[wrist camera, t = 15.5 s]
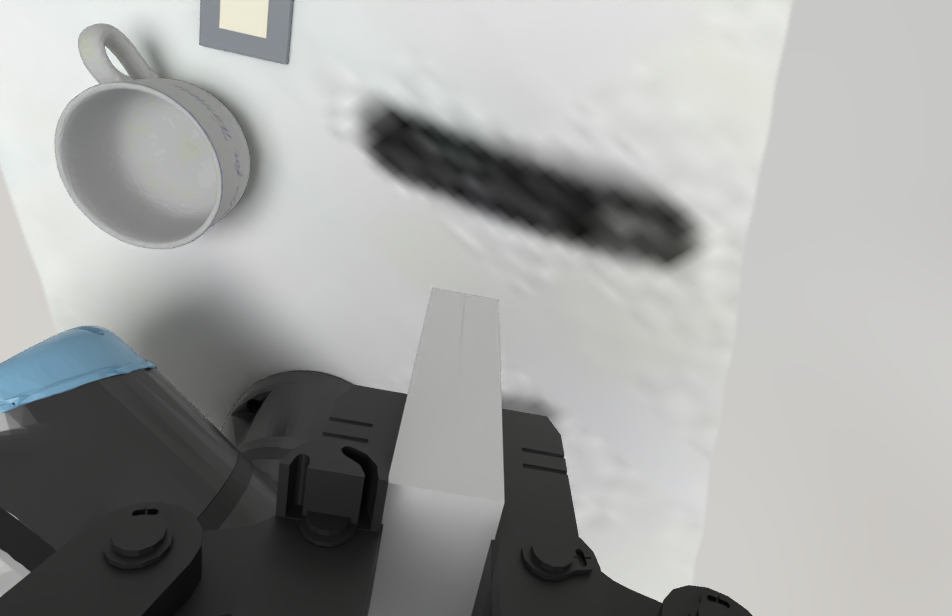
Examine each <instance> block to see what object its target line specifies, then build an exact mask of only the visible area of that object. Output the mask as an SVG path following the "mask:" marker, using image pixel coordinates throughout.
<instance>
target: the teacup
mask: <svg viewBox="0 0 952 616" xmlns="http://www.w3.org/2000/svg"><path fill="white" fill-rule="evenodd" d="M105 46H106V47H107V48H109V50H110V51H111V52H112V53H113V54H114V55H115V56H116V57H117V59H118V60H119V61H120V62H121V64H122V65H123V67H124V68H125V70H126V71H127V73H128V74H129V75H130V77H129V76H127V75H124V74H122V73H121V72H120V71H118V70H117V69H116V68H115V67H114V66H113V64H112V63H111V61H110V60H109V58H108V56H107V54H106V50H105ZM78 48H79V52H80V56H81V58H82V60H83V63H84V65H85V66H86V68H87V69H88V71H89V72H90V73H91V74H92V76H93V77H94V78H95V79H96V80H97V81H98V83H99V85H95V86H93V87H90V88H88V89H86V90H85V91H83V92H82V93H80V94H79V95H77V96H76V97H75V98H74V99H72V100H71V101H70V102H69V103H68V105H67V106H66V108H65V109H64V111H63V112H62V114H61V116H60V119H59V121H58V124H57V128H56V133H55V156H56V161H57V168H58V171H59V174H60V177H61V179H62V181H63V183H64V186H65V188H66V190H67V192H68V194H69V195H70V197H71V198H72V200H73V201H74V202H75V204H76V205H77V206H78V208H79V209H80V210H81V211H82V212H83V213H84V214H85V215H86V216H87V217H88V218H89V219H90V220H91V221H92V222H93V223H94V224H95V225H97V226H98V227H99V228H100V229H101V230H103V231H105V232H106V233H108V234H109V235H111V236H113V237H115V238H117V239H119V240H121V241H123V242H126V243H129V244H132V245H135V246H139V247H144V248H150V249H171V248H175V247H179V246H182V245H185V244H187V243H190V242H192V241H194V240H195V239H197V238H198V237H200V236H201V235H202V234H204V233H205V232H206V231H207V230H208V228H209V227H211V226H212V225H214V224H215V223H217V222H218V221H219V220H220V219H222V218H223V217H224V216H225V215H226V214H228V213H229V212H230V211H231V210H232V209H233V208H234V207H235V205H236V204H237V203H238V201H239V200H240V199H241V197H242V195H243V193H244V191H245V189H246V186H247V183H248V179H249V173H250V156H249V149H248V146H247V142H246V139H245V136H244V134H243V132H242V130H241V127H240V126H239V124H238V122H237V121H236V119H235V118H234V116H233V115H232V114H231V112H230V111H229V110H228V109H227V108H226V107H225V106H224V105H223V104H222V103H221V102H220V101H219V100H218V99H216V98H215V97H214V96H213V95H211V94H210V93H208V92H206V91H205V90H203V89H201V88H199V87H197V86H195V85H192V84H190V83H187V82H183V81H180V80H174V79H165V78H159V77H158V75H157V74H156V73H155V72H154V71H153V70H152V69H150V68H149V66H148V65H147V63H146V62H145V60H144V59H143V57H142V56H141V55H140V53H139V52H138V51H137V49H136V48H135V47H134V45H133V44H132V43H131V42H130V40H129V39H128V38H127V37H126V36H125V35H124V34H123V33H122V32H121V31H119V30H118V29H117V28H115V27H113V26H111V25H109V24H94V25H92V26H89V27H87V28H86V29H84V30H83V31H82V32H81V34H80V35H79V39H78Z"/></svg>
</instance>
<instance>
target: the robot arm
mask: <svg viewBox="0 0 952 616" xmlns="http://www.w3.org/2000/svg"><path fill="white" fill-rule="evenodd" d="M156 368H157V366H156V365H155V364H154V363H152V362H150V361H145V360H144V359H143V358H142V357H141V356H139V355H138V354H137V353H136V352H135V351H134V350H132V349H131V348H130V347H129V346H128V345H127V344H126V343H124V342H123V341H122V340H121V339H120V338H119V337H117V336H116V335H115V334H114V333H112V332H111V331H109V330H107V329H105V328H102V327H97V326H81V327H77V328H73V329H70V330H67V331H64V332H62V333H59V334H57V335H55V336H53V337H51V338H49V339H47V340H44V341H43V342H40V343H38V344H37V345H34V346H32V347H30V348H28V349H27V350H25V351H23V352H21V353H19V354H17V355H15V356H13V357H12V358H10V359H8V360H6V361H4V362H2V363H0V616H752V615H751V614H750V613H749V611H748V610H746V609H745V608H743V607H742V606H741V605H739V604H738V603H737V602H735V601H734V600H732V599H731V598H729V597H728V596H726V595H724V594H721V593H719V592H717V591H714V590H712V589H709V588H705V587H698V586H690V585H688V586H684V587H680V588H676V589H673V590H672V591H671V592H670V593H669V595H668V596H667V597H666V598H665V599H664V600H663V603H660V602H658V601H656V600H654V599H651V598H649V597H647V596H644V595H642V594H640V593H637V592H635V591H633V590H630V589H628V588H626V587H624V586H622V585H621V584H619V583H617V582H615V581H613V580H612V579H610V578H609V577H608V576H606V575H605V574H604V573H603V572H601V570H600V566H599V564H598V562H597V559H596V557H595V555H594V552H593V551H592V550H591V549H590V548H589V547H588V546H587V545H586V544H585V542H584V541H583V540H582V539H581V538H579V536H578V530H577V525H576V519H575V513H574V508H573V502H572V496H571V491H570V485H569V479H568V475H567V468H566V462H565V459H564V451H563V445H562V439H561V435H560V434H559V432H558V431H557V430H556V428H555V427H554V426H553V424H552V423H551V422H550V420H549V419H548V418H547V417H546V416H540V415H535V414H529V413H523V412H518V411H512V410H506V409H502V400H501V367H500V334H499V301H498V300H496V299H491V298H485V297H480V296H475V295H469V294H464V293H458V292H453V291H448V290H442V289H437V288H432V291H431V296H430V300H429V304H428V309H427V313H426V317H425V322H424V326H423V330H422V334H421V339H420V343H419V347H418V352H417V356H416V360H415V365H414V369H413V373H412V378H411V382H410V386H409V390H408V394H403V393H397V392H392V391H386V390H380V389H375V388H369V387H363V386H357V385H352V384H350V383H348V382H346V381H344V380H342V379H340V378H337V377H334V376H331V375H328V374H323V373H318V372H311V371H291V372H284V373H280V374H276V375H273V376H270V377H267V378H265V379H263V380H261V381H259V382H257V383H256V384H254V385H253V386H252V387H250V388H249V389H248V390H247V391H246V392H245V393H244V394H243V395H242V396H241V397H240V399H239V400H238V402H237V403H236V404H235V406H234V407H233V409H232V410H231V412H230V413H229V415H228V417H227V419H226V421H225V423H224V426H223V429H222V432H220V431H219V430H218V429H217V428H216V427H215V426H214V425H213V424H212V423H211V422H210V421H209V420H208V419H206V418H205V417H204V416H203V415H202V414H201V413H200V412H199V411H198V410H197V409H196V408H195V407H194V406H193V405H192V404H191V403H190V402H189V401H188V400H187V399H186V398H185V397H184V396H183V395H182V394H181V393H180V392H179V391H178V390H177V389H176V388H175V387H174V386H173V385H172V384H171V383H170V382H169V381H168V380H166V379H165V378H164V377H163V376H162V375H161V374H160V373H159V372H158V371H157V370H156Z"/></svg>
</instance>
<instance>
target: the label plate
mask: <svg viewBox="0 0 952 616" xmlns="http://www.w3.org/2000/svg"><path fill="white" fill-rule="evenodd" d="M292 11H293V0H201V2H200V38H199V45H202V46H206V47H211V48H215V49H220V50H224V51H228V52H233V53H237V54H242V55H246V56H251V57H255V58H260V59H264V60H268V61H273V62H277V63H282V64H288V60H289V47H290V35H291V23H292Z"/></svg>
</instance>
